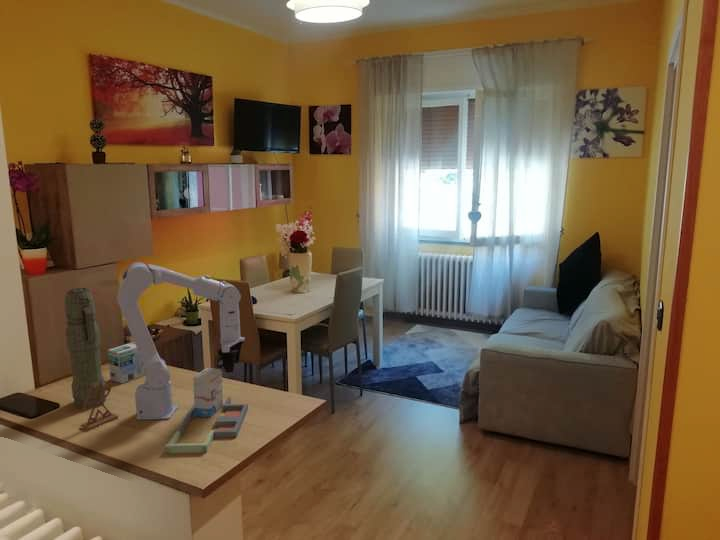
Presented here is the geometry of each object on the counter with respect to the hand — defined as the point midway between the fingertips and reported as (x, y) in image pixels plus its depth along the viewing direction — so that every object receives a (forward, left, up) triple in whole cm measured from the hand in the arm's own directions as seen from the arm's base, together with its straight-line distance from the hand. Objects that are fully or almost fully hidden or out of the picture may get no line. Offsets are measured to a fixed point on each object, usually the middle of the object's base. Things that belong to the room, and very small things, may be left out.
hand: (232, 367), depth 162 cm
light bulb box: (-39, +20, -11) cm, 46 cm away
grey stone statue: (-43, 0, -10) cm, 45 cm away
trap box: (-2, -17, -10) cm, 20 cm away
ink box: (-5, -8, -11) cm, 14 cm away
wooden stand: (-34, -14, -11) cm, 39 cm away
